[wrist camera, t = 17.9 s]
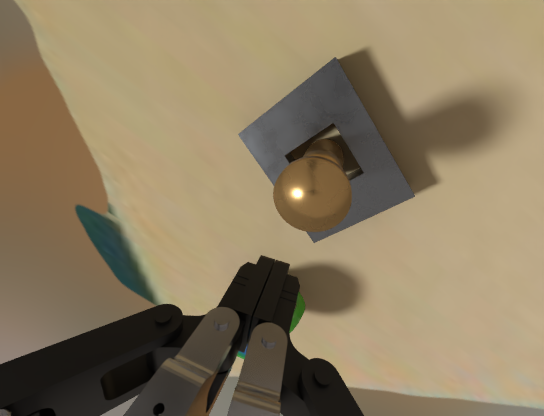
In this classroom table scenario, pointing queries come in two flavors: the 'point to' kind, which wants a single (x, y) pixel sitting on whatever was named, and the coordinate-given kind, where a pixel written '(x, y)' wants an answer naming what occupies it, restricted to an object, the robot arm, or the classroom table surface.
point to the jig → (353, 128)
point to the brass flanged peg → (314, 189)
